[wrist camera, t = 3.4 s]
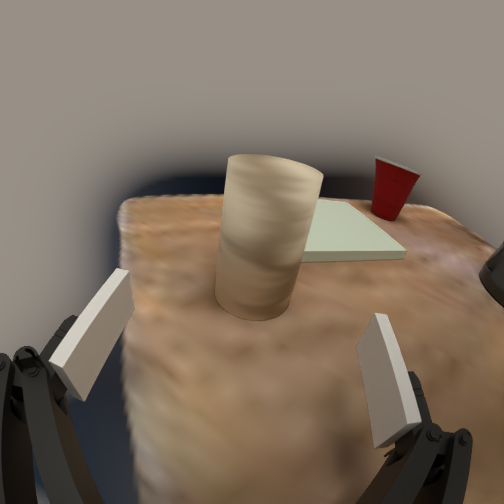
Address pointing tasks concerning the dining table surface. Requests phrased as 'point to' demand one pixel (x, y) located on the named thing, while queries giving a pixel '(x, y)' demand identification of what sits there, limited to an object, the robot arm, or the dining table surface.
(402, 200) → the plastic cup
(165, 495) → the dining table surface
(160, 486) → the dining table surface
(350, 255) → the board
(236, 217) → the birch roller
